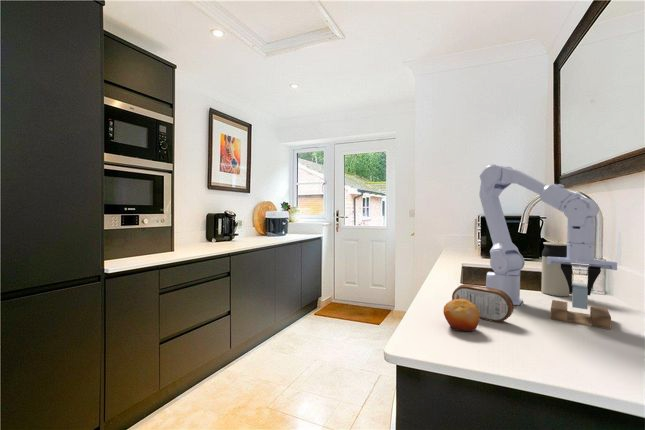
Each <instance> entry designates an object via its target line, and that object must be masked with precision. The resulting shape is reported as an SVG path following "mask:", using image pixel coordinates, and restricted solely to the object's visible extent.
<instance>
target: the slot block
mask: <svg viewBox="0 0 645 430" xmlns="http://www.w3.org/2000/svg"><path fill="white" fill-rule="evenodd" d="M550 320H554V321H560V322H565V323H571V324H577V325H583V326H587V327H588V326H589V327H593V328H594V327H595V328H601V329H606V330H612V317H611V313H610V311H609V309H608V307H604V306H597V305H590V306H589V313H583V312H577V311H571V310H568V301H562V300H555V299H552V300H551V306H550Z"/></svg>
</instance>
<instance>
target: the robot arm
mask: <svg viewBox="0 0 645 430" xmlns="http://www.w3.org/2000/svg"><path fill="white" fill-rule="evenodd" d="M479 178H480V186H479V187H480V188H479V199H480V203H481V206H482V209H483V213H484V217H485V221H486V225H487V228H488V231H489V234H490V236H489V237H490V239H491V242H492V247H491V248H490V250H489V254H490V259H489V265H490V268H491V269H492V270H493V271H487V272H486V279H485V287H488V288H494V289H499V290H501V291H503V292H505V293H506V294H507V295H508V296H509V297H510V298H511V300H512V302H513V305H515V306H521V303H522V301H523V298H521V297H520V295H521V294H520V293H521V292H520V291H521V270H523V268H524V267H525V263H526V262H525V258H524V256H523V255H522V254H521V253H520V251H519V248H518V247H517V246H516V244H515V243H513V242H512V241H513V240H512V237H511V235H510V232H509V231H510V230H509V229H508V225H507V221H506V218H505V215H504V211H503V207H502V205H501V202H500V197H499V196H500V195H501V193H502V192H503V191H504V190H505V189H507V188H509V187H510V185H512V184H513V185H514V184H515V185H516V184H517V185H518V186H521V187H523V188H525V189H527V190H529V191H531V192H533V193H535V194H538V195H539V198H540V199H539V200H540V201H541V202H543V203H545V204H547V205H549V206H550V207H552V208H554V209H556V210H558V211H560V212H561V213H563V214H564V216H565V217H566V218H567V226H566V227H567V228H566V229H567V230H566V231H567V232H566V233H567V234H566V243H567V258H566V257H547V264H557V265H561V269H562V271H563V273H564V275H565V278H566V280H567V283H568V286H569V294H572V293H573V287H572V283H573V267H578V268H579V267H582V268H587V283H586V285H587V289H588V296H591V293H592V290H593V289H592V288H593V285H594V284H595V282H596V280H597V279H598V277H599V275H601V272H602V269H603V270H605V269H606V270H612V271H617V270H618V262H617V261H611V260H599V259H595V240H596V239H595V238H596V237H595V233H596V232H595V230H596V229H595V228H596V227H595V225H596V222H595V221H596V219H595V217H596V216H597V215H599V209H600V208H599V205H598V203H596V202H595V200H593V199H592V198H589V197H588V198H587V197H586V198H585V197H583V198H582V194H580V193H579V192H576V193H574V192H572V191H571V190H568V189H566V188H565V185H563V184H561V183H558V184H557V183H551V184H548V185H547V184H545V183H544V182H542V181H540V180H538V179H537V178H535V177H532V176H531V175H529V174H527V173H525V172H523V171H522V170H519V169H517V168H513V167H511V166H503V165H496V164H489V165H486V166H485V167H484V169H483V170H482V172H481V173H480V174H479ZM569 263H570V264H569Z"/></svg>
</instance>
